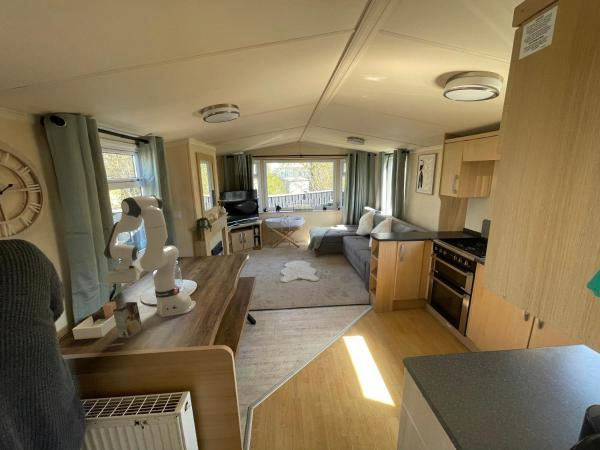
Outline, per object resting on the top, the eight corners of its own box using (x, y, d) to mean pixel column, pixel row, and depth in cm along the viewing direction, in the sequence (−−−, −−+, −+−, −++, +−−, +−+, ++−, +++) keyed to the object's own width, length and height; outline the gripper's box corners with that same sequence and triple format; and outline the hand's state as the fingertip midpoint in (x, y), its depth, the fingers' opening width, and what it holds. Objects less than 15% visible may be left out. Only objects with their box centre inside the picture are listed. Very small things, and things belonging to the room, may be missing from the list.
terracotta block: (118, 315, 160) (115, 301, 159) (113, 319, 156) (110, 305, 154) (110, 315, 160) (107, 302, 158) (105, 319, 156) (102, 305, 154)
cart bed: (118, 324, 150) (116, 313, 148) (103, 338, 137) (100, 326, 136) (92, 326, 149) (90, 316, 148) (75, 340, 136) (72, 329, 135)
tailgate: (118, 322, 150) (123, 318, 154) (118, 321, 150) (123, 316, 154) (92, 325, 149) (98, 320, 154) (92, 323, 149) (98, 318, 153)
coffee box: (132, 328, 145) (127, 301, 142) (142, 329, 143) (137, 301, 140) (118, 338, 136) (112, 309, 133) (128, 339, 134) (123, 310, 131)
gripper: (105, 268, 171) (98, 288, 163) (138, 266, 172) (132, 286, 164) (111, 272, 176) (104, 292, 168) (143, 270, 177) (137, 289, 169)
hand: (118, 289), depth 166 cm, fingers open, 8 cm apart
